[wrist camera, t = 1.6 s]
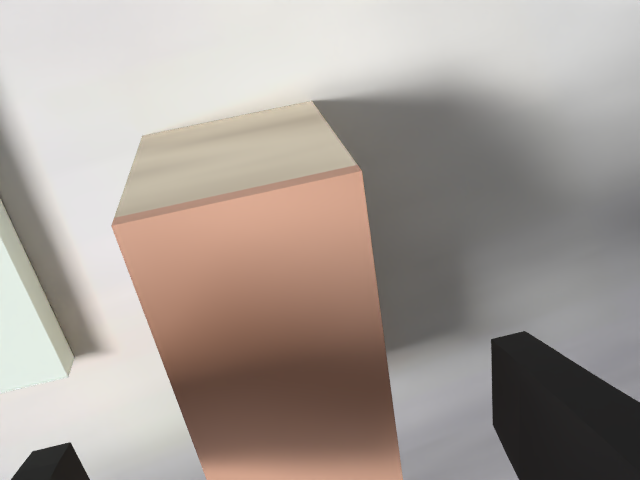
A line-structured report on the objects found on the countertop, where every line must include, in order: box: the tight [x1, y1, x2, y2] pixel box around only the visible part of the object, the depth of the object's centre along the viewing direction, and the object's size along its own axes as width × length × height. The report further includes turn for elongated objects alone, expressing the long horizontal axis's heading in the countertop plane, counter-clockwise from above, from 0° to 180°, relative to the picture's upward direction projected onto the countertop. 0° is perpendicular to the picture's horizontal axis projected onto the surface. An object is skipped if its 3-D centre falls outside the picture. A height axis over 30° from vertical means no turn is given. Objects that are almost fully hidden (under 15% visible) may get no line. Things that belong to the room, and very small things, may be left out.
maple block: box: [112, 101, 403, 480], centre depth 13 cm, size 8×4×5 cm, turn 9°
